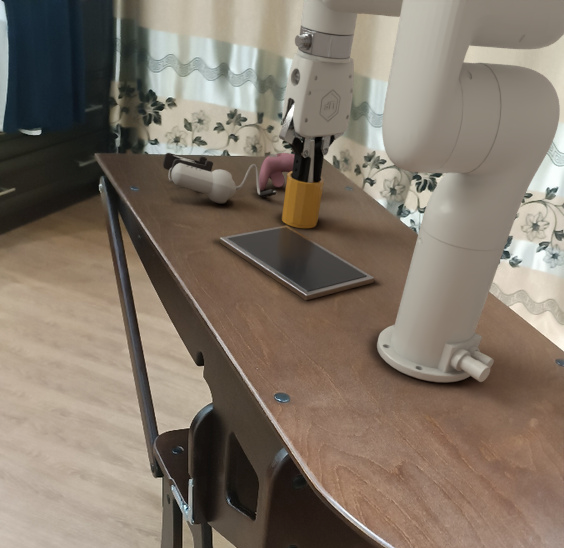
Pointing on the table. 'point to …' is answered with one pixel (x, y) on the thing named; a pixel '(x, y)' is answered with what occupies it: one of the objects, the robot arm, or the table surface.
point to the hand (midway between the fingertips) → (305, 179)
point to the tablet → (296, 261)
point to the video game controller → (275, 169)
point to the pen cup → (302, 202)
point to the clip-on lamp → (206, 177)
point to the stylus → (311, 155)
